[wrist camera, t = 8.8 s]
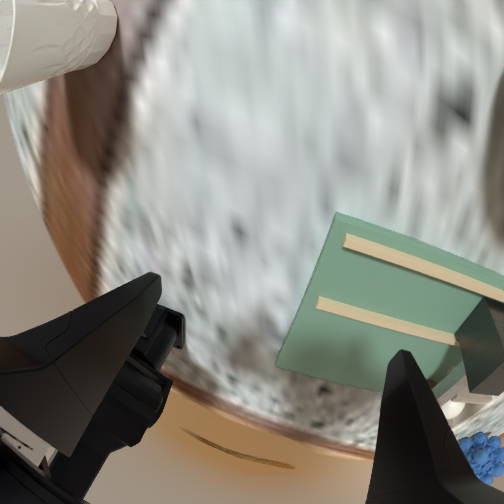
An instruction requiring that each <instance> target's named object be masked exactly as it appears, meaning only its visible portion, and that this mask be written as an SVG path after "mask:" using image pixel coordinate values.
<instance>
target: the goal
mask: <svg viewBox="0 0 504 504" xmlns="http://www.w3.org/2000/svg"><path fill="white" fill-rule="evenodd" d="M454 368H455V367H454V366H452V367H451V368H450V369H449V370H448V371H447V375H448V374H449V373H450V372H451V371H452V370H453V369H454ZM451 401H452V402H462V403H465V407H464V409H463V410H462V412H461V413H460V414H459V415H458V416H456V417H455V418H452V419H447V421H448V423H449V425H450V427H451V429H452V431H455V430H457V429H459V428H460V427H462V426H463V425H465V424H466V423H468V422H469V421H470V420H472V419H473V418H475V417H476V416H478V415H479V414H480V413H482V412H483V411H484V410H486V409H487V408H488V407H490V406H491V405H492V404H493V403H495V402H496V401H497V396H494V395H483V394H474V393H469V388H468V385H467V386H466V387H465V388H464V389H462V390H461V391H460V392H459V393H458V394H456V395H455V396H454V397H453V398H451Z"/></svg>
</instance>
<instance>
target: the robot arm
mask: <svg viewBox="0 0 504 504" xmlns="http://www.w3.org/2000/svg"><path fill="white" fill-rule="evenodd" d="M161 293H162V284H161V276H160V275H159V274H156V273H153V272H148V273H146V274H144V275H142V276H140V277H138V278H136V279H134V280H132V281H130V282H128V283H126V284H124V285H122V286H120V287H118V288H116V289H114V290H112V291H110V292H108V293H106V294H104V295H102V296H100V297H98V298H96V299H94V300H92V301H90V302H88V303H86V304H84V305H82V306H80V307H78V308H76V309H74V310H73V311H70V312H68V313H66V314H64V315H62V316H60V317H58V318H56V319H54V320H51V321H49V322H47V323H44V324H42V325H40V326H37V327H35V328H32V329H29V330H27V331H25V332H22V333H19V334H17V335H14V336H10V337H0V504H90V503H88V502H87V501H85V500H83V499H84V497H85V495H86V493H87V491H88V490H89V488H90V486H91V485H92V483H93V481H94V479H95V478H96V476H97V474H98V473H99V471H100V469H101V467H102V466H103V464H104V462H105V461H106V459H107V457H108V456H109V454H110V453H111V452H114V451H116V450H118V449H121V448H123V447H125V446H127V445H128V446H130V447H132V446H134V445H136V444H137V443H139V442H140V441H141V439H142V437H143V435H144V433H145V431H146V429H147V428H150V427H152V426H153V425H154V424H155V423H156V421H157V420H158V419H159V417H160V415H161V413H162V412H163V409H164V407H165V404H166V401H167V398H168V394H169V392H170V389H171V386H172V383H173V380H172V379H170V378H167V377H166V376H165V375H163V374H162V373H160V372H159V370H160V369H161V367H162V365H163V363H164V361H165V360H166V358H167V356H168V354H169V353H170V351H171V349H172V347H175V348H177V349H182V348H183V346H184V342H183V315H182V314H180V313H178V312H176V311H173V310H170V309H168V308H165V307H163V306H160V305H158V304H157V303H158V301H159V299H160V297H161ZM50 445H51V446H52V447H54V448H55V451H54V453H53V454H52V456H51V457H50V459H49V461H48V463H47V460H46V456H45V453H46V452H47V450H48V449H49V447H50ZM365 504H504V492H502V491H500V490H498V489H496V488H494V487H491V486H490V485H488V484H486V483H484V482H482V481H481V480H480V479H479V478H478V477H477V476H476V474H475V473H474V471H473V469H472V467H471V466H470V464H469V462H468V460H467V458H466V456H465V455H464V453H463V451H462V449H461V447H460V445H459V444H458V442H457V440H456V438H455V436H454V434H453V432H452V429H451V427H450V425H449V423H448V421H447V419H446V417H445V415H444V413H443V411H442V409H441V407H440V405H439V403H438V401H437V399H436V397H435V395H434V393H433V391H432V390H431V388H430V386H429V384H428V382H427V380H426V378H425V376H424V375H423V373H422V371H421V369H420V367H419V366H418V364H417V362H416V360H415V358H414V357H413V355H412V353H411V352H410V351H408V350H404V349H400V350H399V351H398V352H397V353H396V354H395V355H394V357H393V358H392V359H391V360H390V361H389V363H388V366H387V371H386V377H385V383H384V389H383V394H382V400H381V408H380V418H379V427H378V435H377V443H376V450H375V456H374V463H373V468H372V474H371V479H370V485H369V490H368V494H367V500H366V503H365Z"/></svg>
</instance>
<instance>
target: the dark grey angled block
mask: <svg viewBox="0 0 504 504" xmlns="http://www.w3.org/2000/svg"><path fill="white" fill-rule="evenodd" d="M457 337H458V341H459V345H460V349H461V353H462V358H463V361H462V362H461V363H460V364H459V365H457V366H456V367H455V368H454V369H453V370H452V371H451V372H450V373H449V374H448V375H447V376H446V377H445V378H444V379H443V380H442V381H440V382H439V383H438V382H432V381H427V382H428V384H429V386H430V388H431V390H432V391H433V393H434V395H435V397H436V399H437V401H438V403H439V405H440V407H441V406H443V405H444V404H445V403H446V402H448V401H449V400H450V399H451V398H453V397H454V396H455V395H456V394H458V393H459V392H460V391H461V390H462V389H464V388H465V387H466V386H467V385H468V388H469V393H474V394H483V395H494V396H499V395H500V394H501V393H502V392H503V391H504V305H503V304H500V303H498V302H495V301H492V300H490V299H487V298H484V299H483V300H482V301H481V303H480V304H479V305H478V307H477V308H476V309H475V311H474V312H473V313H472V314H471V316H470V317H469V318H468V319H467V321H466V322H465V323H464V324H463V326H462V327H461V328H460V329H459V330H458V332H457Z"/></svg>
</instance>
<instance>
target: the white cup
mask: <svg viewBox="0 0 504 504" xmlns="http://www.w3.org/2000/svg"><path fill="white" fill-rule="evenodd" d="M116 27H117V14H116V11H115V8H114V5H113V3H112V2H110V1H109V0H0V95H2V94H5V93H7V92H10V91H13V90H16V89H18V88H21V87H24V86H27V85H30V84H34V83H37V82H40V81H43V80H46V79H48V78H51V77H56V76H59V75H62V74H65V73H68V72H71V71H75V70H80V69H85V68H87V67H89V66H91V65H93V64H96V63H97V62H98V61H99V60H100V59H101V58H102V57H103V56H104V55H105V53H106V52H107V51H108V50H109V48H110V46H111V43H112V41H113V39H114V37H115V34H116Z"/></svg>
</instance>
